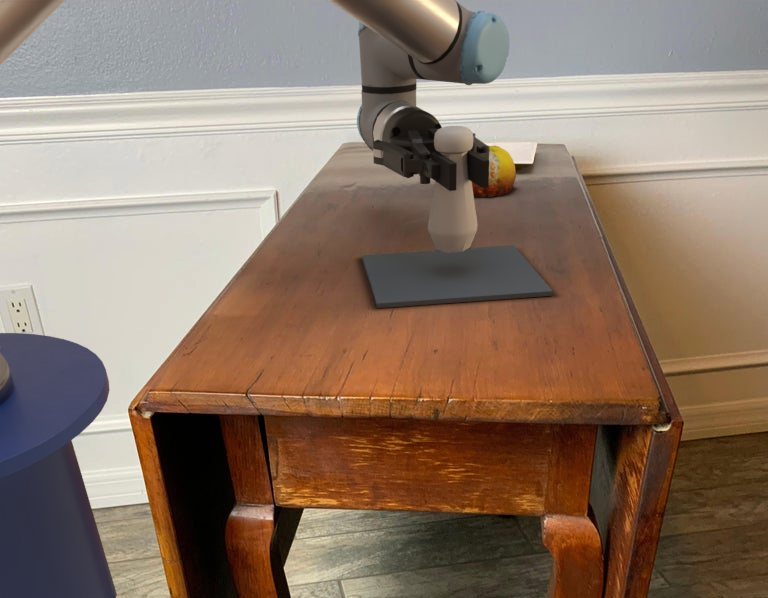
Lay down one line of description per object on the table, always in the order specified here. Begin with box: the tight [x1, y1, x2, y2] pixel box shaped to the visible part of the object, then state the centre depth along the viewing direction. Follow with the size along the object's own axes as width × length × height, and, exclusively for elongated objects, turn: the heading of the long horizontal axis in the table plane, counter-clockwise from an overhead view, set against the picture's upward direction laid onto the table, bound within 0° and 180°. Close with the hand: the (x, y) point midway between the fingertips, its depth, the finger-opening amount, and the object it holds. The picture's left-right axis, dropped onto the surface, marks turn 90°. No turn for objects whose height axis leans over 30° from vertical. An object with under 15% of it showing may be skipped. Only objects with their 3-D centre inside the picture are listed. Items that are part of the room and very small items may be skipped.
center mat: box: [361, 244, 554, 309], centre depth 96 cm, size 20×18×1 cm
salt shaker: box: [427, 125, 479, 253], centre depth 90 cm, size 6×6×13 cm
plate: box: [482, 141, 538, 171], centre depth 148 cm, size 19×19×2 cm
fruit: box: [472, 146, 517, 198], centre depth 130 cm, size 11×10×8 cm
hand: (469, 175), depth 84 cm, fingers closed on salt shaker, 3 cm apart
